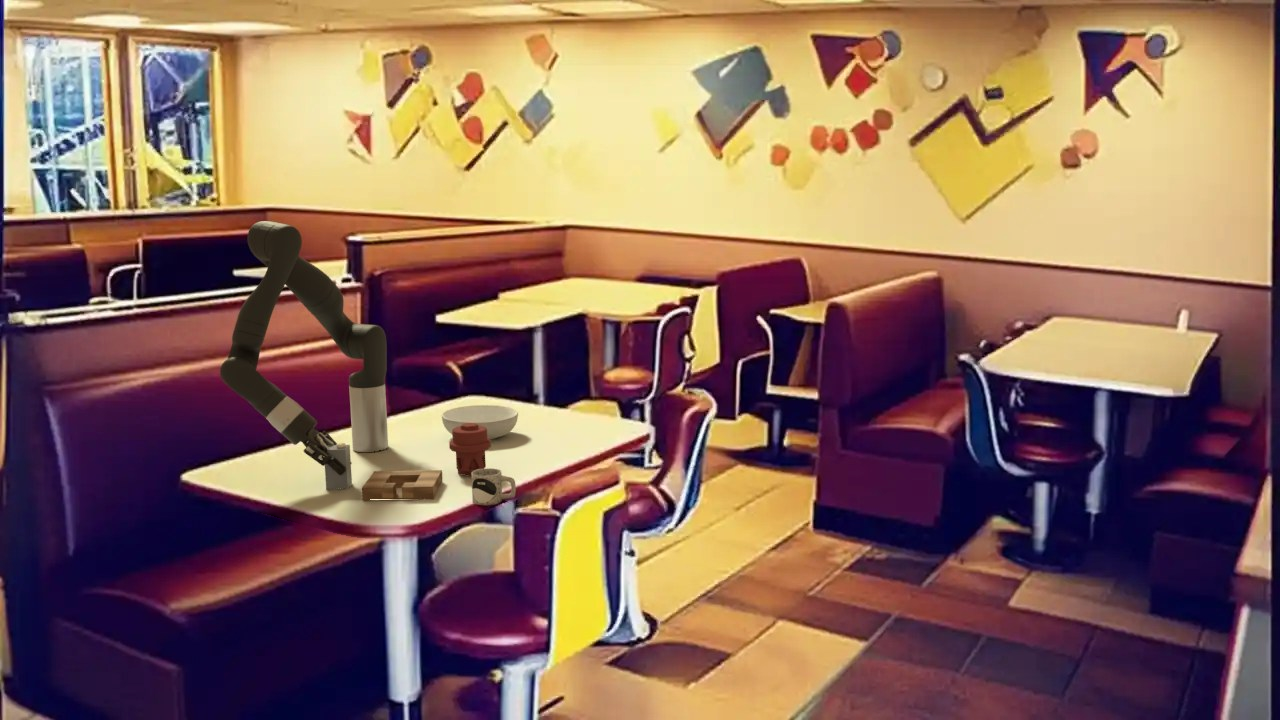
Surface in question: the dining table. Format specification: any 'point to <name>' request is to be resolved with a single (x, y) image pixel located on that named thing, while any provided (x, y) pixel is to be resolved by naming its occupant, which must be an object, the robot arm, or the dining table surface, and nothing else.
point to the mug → (490, 486)
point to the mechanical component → (469, 447)
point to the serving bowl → (482, 418)
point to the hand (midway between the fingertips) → (346, 469)
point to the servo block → (343, 457)
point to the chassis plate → (402, 485)
